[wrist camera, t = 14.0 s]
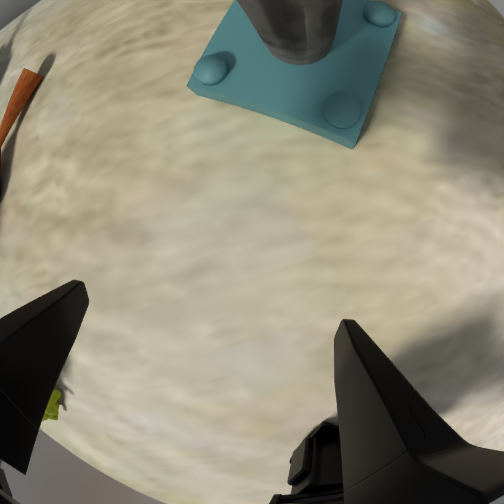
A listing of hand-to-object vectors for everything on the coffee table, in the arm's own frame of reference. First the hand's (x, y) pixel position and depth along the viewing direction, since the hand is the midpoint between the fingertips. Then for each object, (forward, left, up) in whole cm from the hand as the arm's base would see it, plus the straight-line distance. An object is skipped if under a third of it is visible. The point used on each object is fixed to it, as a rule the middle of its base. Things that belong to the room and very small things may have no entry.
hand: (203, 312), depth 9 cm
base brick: (+4, -15, -11) cm, 19 cm away
